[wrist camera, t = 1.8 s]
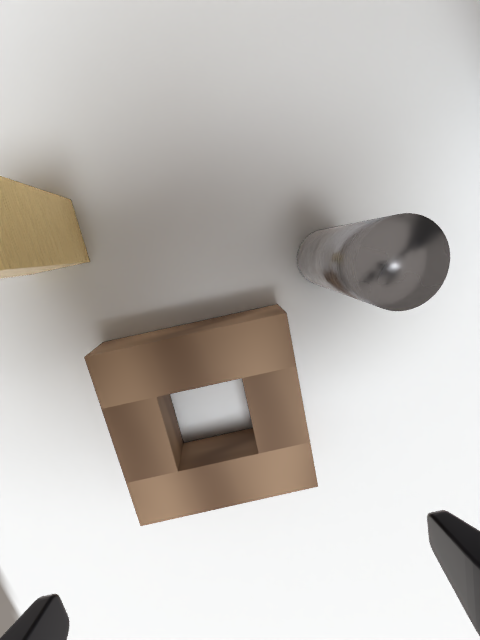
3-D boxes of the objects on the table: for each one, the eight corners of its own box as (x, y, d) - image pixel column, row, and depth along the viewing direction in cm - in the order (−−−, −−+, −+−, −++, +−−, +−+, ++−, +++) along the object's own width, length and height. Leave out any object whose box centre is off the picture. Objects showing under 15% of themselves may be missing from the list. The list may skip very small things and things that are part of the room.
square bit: (70, 199, 17) (-35, 164, 10) (90, 261, 17) (4, 270, 10) (9, 212, 17) (-140, 186, 10) (30, 274, 17) (-94, 290, 10)
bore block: (277, 304, 18) (286, 312, 16) (306, 457, 20) (317, 486, 18) (103, 342, 18) (84, 357, 16) (150, 491, 20) (140, 526, 18)
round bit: (346, 224, 18) (446, 203, 10) (353, 278, 18) (452, 300, 10) (292, 235, 18) (350, 224, 10) (301, 289, 18) (362, 320, 10)
